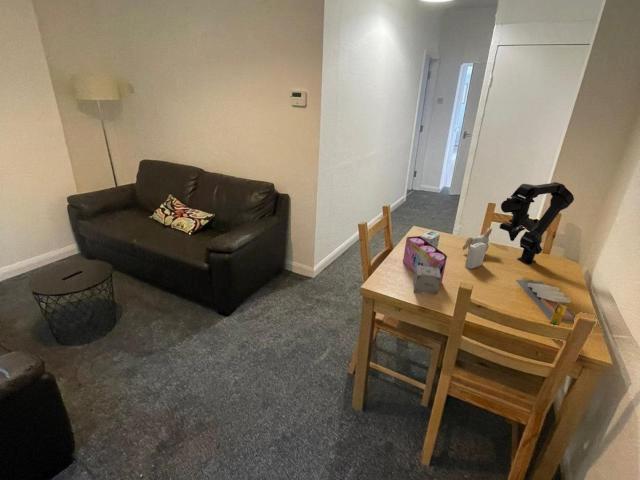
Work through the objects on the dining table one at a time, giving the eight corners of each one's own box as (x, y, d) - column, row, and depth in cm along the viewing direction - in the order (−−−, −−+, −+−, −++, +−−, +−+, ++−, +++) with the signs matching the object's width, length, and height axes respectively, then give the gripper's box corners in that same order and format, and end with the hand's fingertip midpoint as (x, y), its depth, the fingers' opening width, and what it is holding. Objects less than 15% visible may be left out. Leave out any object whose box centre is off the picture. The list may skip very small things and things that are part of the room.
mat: (515, 280, 157) (515, 279, 157) (541, 282, 157) (541, 281, 157) (548, 320, 130) (549, 319, 130) (581, 323, 129) (581, 322, 129)
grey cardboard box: (413, 294, 143) (417, 272, 139) (412, 283, 151) (416, 263, 147) (437, 297, 142) (442, 275, 138) (435, 286, 149) (439, 266, 145)
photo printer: (475, 261, 173) (481, 239, 168) (483, 265, 170) (489, 242, 165) (463, 266, 168) (468, 243, 163) (470, 270, 165) (476, 247, 160)
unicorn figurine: (493, 251, 186) (500, 228, 180) (471, 258, 176) (477, 235, 171) (482, 246, 192) (488, 224, 186) (460, 253, 182) (465, 230, 176)
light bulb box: (425, 248, 186) (429, 230, 182) (437, 252, 182) (440, 233, 177) (415, 253, 179) (418, 235, 175) (426, 258, 175) (430, 239, 170)
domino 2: (532, 287, 148) (549, 291, 136) (546, 288, 148) (564, 293, 136) (532, 291, 148) (548, 295, 136) (546, 292, 148) (564, 297, 136)
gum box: (444, 284, 152) (450, 257, 146) (429, 286, 150) (434, 259, 144) (415, 259, 173) (420, 235, 167) (402, 261, 170) (406, 237, 165)
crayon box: (554, 337, 121) (565, 311, 116) (545, 333, 123) (555, 307, 118) (558, 328, 126) (568, 302, 121) (548, 324, 128) (559, 299, 123)
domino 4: (541, 297, 141) (557, 315, 130) (556, 299, 141) (573, 316, 130) (540, 300, 142) (555, 318, 131) (555, 302, 141) (571, 320, 130)
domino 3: (536, 292, 145) (554, 297, 133) (551, 293, 144) (570, 298, 132) (536, 296, 145) (554, 301, 133) (551, 297, 144) (570, 302, 132)
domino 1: (527, 282, 152) (543, 286, 140) (541, 284, 152) (558, 287, 140) (527, 286, 152) (543, 290, 140) (541, 287, 152) (558, 291, 140)
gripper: (526, 219, 150) (516, 250, 156) (549, 213, 159) (538, 243, 165) (503, 211, 159) (494, 241, 165) (526, 206, 167) (517, 235, 174)
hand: (511, 240), depth 167 cm, fingers closed
